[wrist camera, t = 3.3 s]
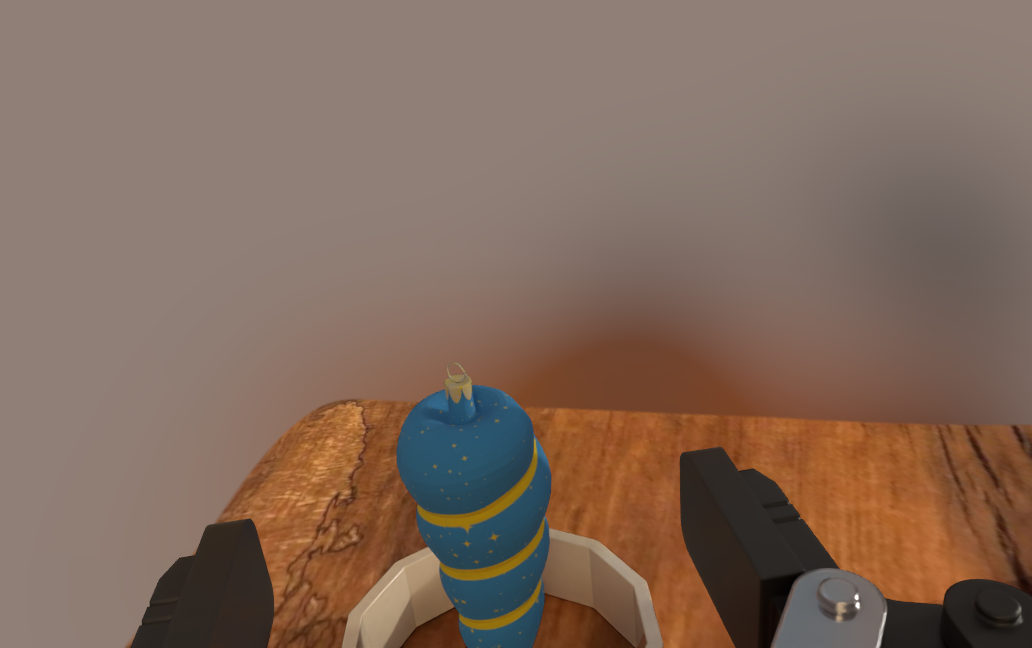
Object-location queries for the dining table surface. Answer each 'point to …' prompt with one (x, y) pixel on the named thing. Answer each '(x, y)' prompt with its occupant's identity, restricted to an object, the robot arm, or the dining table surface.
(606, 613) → the faceted beige ring
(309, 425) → the dining table surface
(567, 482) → the dining table surface
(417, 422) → the ornament
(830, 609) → the robot arm
